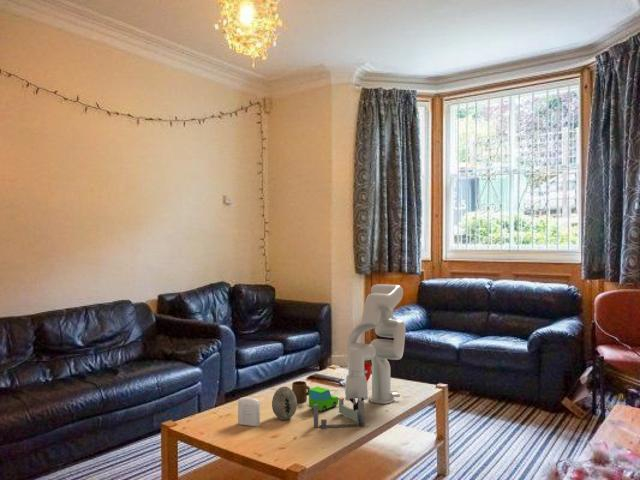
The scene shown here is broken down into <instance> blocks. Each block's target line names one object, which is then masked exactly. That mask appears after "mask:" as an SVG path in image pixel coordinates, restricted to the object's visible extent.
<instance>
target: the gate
mask: <svg viewBox="0 0 640 480" xmlns="http://www.w3.org/2000/svg"><path fill="white" fill-rule="evenodd" d="M344 400H345V397H342V396H341V397H338V413H339V414H342V415H343V416H345V417H346V418H348V419H350V420H352V421H354V422H355V423H356V424H358V410H355V411H354V410H353V409H352V408H351V407H348V406H347V405H345V404H344V402H345V401H344Z"/></svg>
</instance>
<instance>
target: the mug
mask: <svg viewBox="0 0 640 480" xmlns="http://www.w3.org/2000/svg"><path fill="white" fill-rule="evenodd" d="M309 389H311V388H310V386H308V385H307V382H306V381H303V380H302V381H301V380H299V381H293V382H292V384H291V390H292V391H293V392H294V394H295V396H296V399H297V404H304V403H306V402H307V400H308V397H309Z"/></svg>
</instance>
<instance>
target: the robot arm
mask: <svg viewBox="0 0 640 480" xmlns="http://www.w3.org/2000/svg"><path fill="white" fill-rule="evenodd" d="M403 296H404V289H403V287H402V286H401V285H399V284H384V283H376V284H373V285H372V286H371V288H370V293H369V294H368V295H367V296H366V299H365V302H364V307H363V312H362V316H361V320H360V322H359V323H358V324H357V325H356V326H355V327H354V328H353V329H352V330H351V332H350V334H349V335H348V338H347V343H346V350H345V351H346V355H347V356H348V357H347V358H348V359H347V363H348V367H347V368H348V369H347V370H348V372H347V373H348V375H346V377H345V390H344V393H345V397H344V400H345V401H348V402H351V403H352V406H353V409H352V410H354V411H355V410H358V401H367V400H368V399H369V401H370V402H371V403H373V404H379V405H385V404H387V405H388V404H391V403H394V401H395V398H400V396H401V393H400V392H396V391H393V392H392V389H391V386H392V385H391V365H390V362H389V361H388V360H395V361H398V360H401V359H402V358H403V356H404V352H405V351H404V350H405V340H406V324H405V322H404V321H403V320H402V319H398V318H397V319H395V318H393V315H394V309H395V308H396V307H397V306H398V304H399V303H400V302H401V301H402V299H403ZM373 329H374V332H375V334H376V336H378V337H384V339H383V338H382V339H381V338H375V339H373V340H371V342H370V343H364V342H363V343H362V342H358V339H359V337H360V336H361V335H362V334H364V333H366V332H368V331H370V330H373ZM385 338H393V340H391V339H385ZM365 361H371V394H372V395H370V396H368V394H369V393H368V383H367V382H368V381H367V380H366V376H365V374H366V373H367V370H364V363H365ZM356 399H357V401H356Z"/></svg>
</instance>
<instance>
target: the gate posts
mask: <svg viewBox="0 0 640 480" xmlns="http://www.w3.org/2000/svg"><path fill="white" fill-rule="evenodd" d="M312 410H313V429H318V428H319V429H321V430H327V429H328V428H329V429H331V428H334V429H335V428H358V427H360V428H365V427H366V426H365V421H366V420H365V419H366V416H365V413H366V412H365V400H363V401H358V423H356V424H355V423H354V424H353V423H351V424H349V423H348V424H344V423H343V424H327V423H328V422H327V419H326V418H325V419H322V418H321V419H320V424H319V410H318V404H313V409H312Z"/></svg>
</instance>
